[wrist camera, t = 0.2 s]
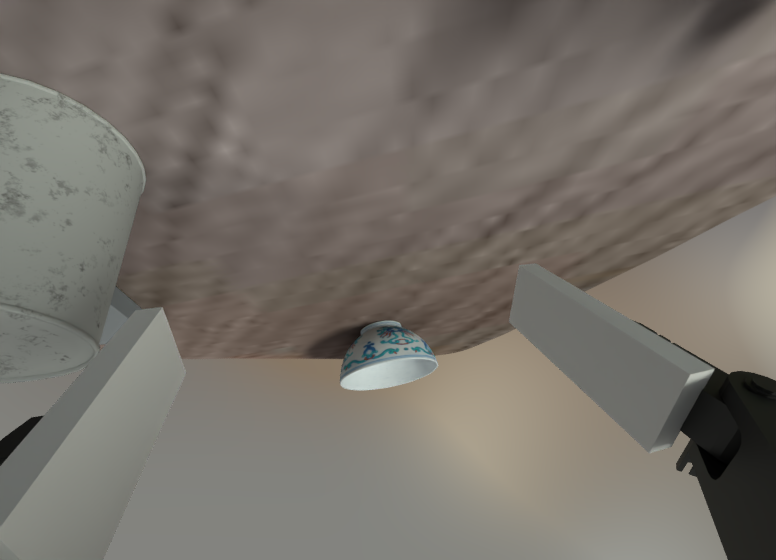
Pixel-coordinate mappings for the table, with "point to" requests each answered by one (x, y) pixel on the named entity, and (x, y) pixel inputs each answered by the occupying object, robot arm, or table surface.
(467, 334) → the table surface
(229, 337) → the table surface
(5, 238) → the grey marbled cylinder
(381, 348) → the chinaware
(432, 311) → the table surface
